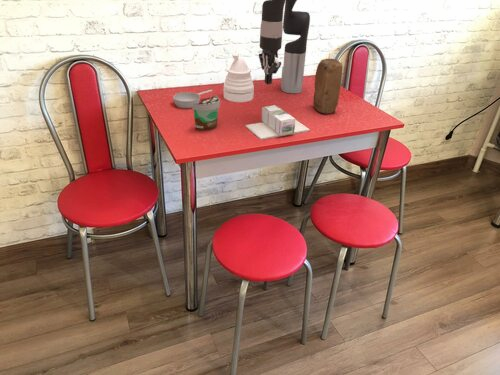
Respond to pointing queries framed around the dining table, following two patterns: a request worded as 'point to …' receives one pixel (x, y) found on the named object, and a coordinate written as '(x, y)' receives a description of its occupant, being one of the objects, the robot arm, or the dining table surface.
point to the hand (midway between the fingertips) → (268, 83)
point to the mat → (267, 132)
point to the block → (327, 85)
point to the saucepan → (187, 99)
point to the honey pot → (238, 82)
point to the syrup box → (278, 120)
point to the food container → (206, 113)
